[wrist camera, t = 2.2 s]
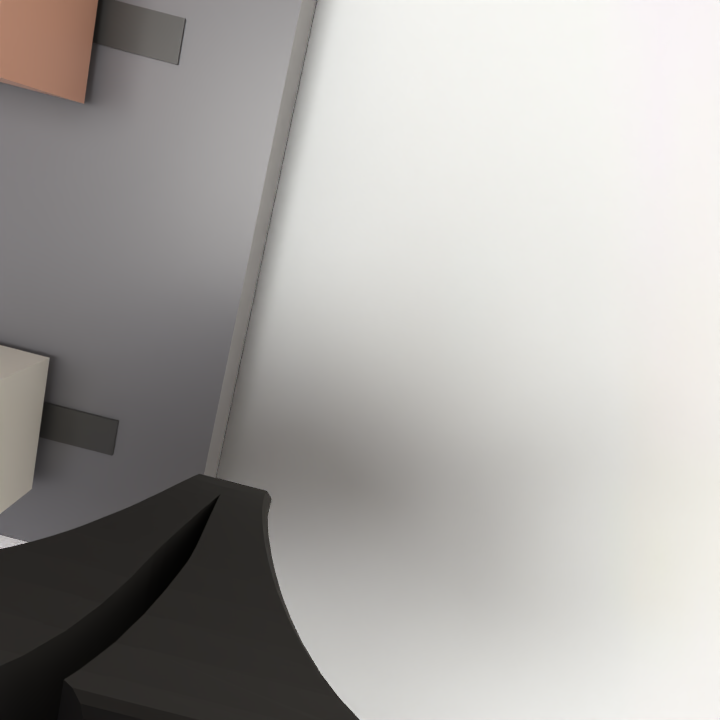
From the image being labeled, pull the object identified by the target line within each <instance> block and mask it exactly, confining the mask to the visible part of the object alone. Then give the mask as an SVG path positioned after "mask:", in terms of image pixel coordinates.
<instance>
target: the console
mask: <svg viewBox="0 0 720 720" xmlns="http://www.w3.org/2000/svg"><path fill="white" fill-rule="evenodd" d="M316 2H317V0H98V5H97V12H96V20H95V27H94V34H93V42H92V49H91V57H90V64H89V71H88V79H87V86H86V93H85V101H84V104H83V103H79V102H75V101H71V100H68V99H64V98H60V97H56V96H52V95H48V94H44V93H40V92H37V91H33V90H29V89H25V88H21V87H17V86H13V85H10V84H6V83H2V82H0V345H2V346H6V347H10V348H14V349H18V350H22V351H26V352H29V353H33V354H37V355H41V356H45V357H49V358H50V359H49V366H48V374H47V381H46V388H45V396H44V403H43V410H42V418H41V425H40V432H39V440H38V447H37V455H36V462H35V469H34V477H33V484H32V489H31V490H30V491H29V492H27V493H26V494H25V495H23V496H22V497H21V498H20V499H18V500H17V501H16V502H15V503H13V504H12V505H11V506H10V507H8V508H7V509H6V510H4V511H3V512H2V513H1V514H0V535H3V536H7V537H11V538H15V539H19V540H23V541H27V542H32V541H35V540H39V539H42V538H46V537H49V536H53V535H56V534H59V533H62V532H65V531H68V530H71V529H74V528H77V527H80V526H83V525H85V524H88V523H90V522H93V521H95V520H98V519H100V518H103V517H105V516H108V515H110V514H113V513H115V512H118V511H120V510H123V509H125V508H128V507H130V506H132V505H134V504H136V503H139V502H141V501H143V500H145V499H147V498H149V497H151V496H154V495H156V494H158V493H160V492H162V491H164V490H166V489H168V488H170V487H172V486H174V485H176V484H178V483H180V482H182V481H184V480H186V479H188V478H191V477H193V476H195V475H198V474H202V475H206V476H210V477H214V478H216V475H217V470H218V465H219V461H220V456H221V451H222V446H223V442H224V437H225V432H226V427H227V423H228V418H229V413H230V409H231V404H232V399H233V394H234V390H235V385H236V380H237V375H238V371H239V366H240V361H241V357H242V352H243V347H244V342H245V338H246V333H247V328H248V323H249V319H250V314H251V309H252V305H253V300H254V295H255V290H256V286H257V281H258V276H259V271H260V267H261V262H262V257H263V253H264V248H265V243H266V238H267V234H268V229H269V224H270V219H271V215H272V210H273V205H274V201H275V196H276V191H277V186H278V182H279V177H280V172H281V167H282V163H283V158H284V153H285V149H286V144H287V139H288V134H289V130H290V125H291V120H292V115H293V111H294V106H295V101H296V97H297V92H298V87H299V82H300V78H301V73H302V68H303V63H304V59H305V54H306V49H307V45H308V40H309V35H310V30H311V26H312V21H313V16H314V11H315V7H316Z"/></svg>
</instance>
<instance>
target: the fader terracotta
mask: <svg viewBox="0 0 720 720" xmlns="http://www.w3.org/2000/svg"><path fill="white" fill-rule="evenodd" d="M97 5H98V0H0V82H2V83H6V84H10V85H13V86H17V87H21V88H25V89H29V90H33V91H37V92H40V93H44V94H48V95H52V96H56V97H60V98H64V99H68V100H71V101H75V102H79V103H83V104H84V101H85V93H86V86H87V79H88V71H89V64H90V57H91V49H92V42H93V34H94V27H95V20H96V12H97Z"/></svg>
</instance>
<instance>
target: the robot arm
mask: <svg viewBox="0 0 720 720" xmlns="http://www.w3.org/2000/svg"><path fill="white" fill-rule="evenodd" d="M270 503H271V497H270V495H269V494H268V492H267V491H265V490H261V489H257V488H253V487H249V486H245V485H241V484H237V483H233V482H230V481H226V480H222V479H218V478H214V477H210V476H206V475H202V474H198V475H195V476H193V477H191V478H188V479H186V480H184V481H182V482H180V483H178V484H176V485H174V486H172V487H170V488H168V489H166V490H164V491H162V492H160V493H158V494H156V495H154V496H151V497H149V498H147V499H145V500H143V501H141V502H139V503H136V504H134V505H132V506H130V507H128V508H125V509H123V510H120V511H118V512H115V513H113V514H110V515H108V516H105V517H103V518H100V519H98V520H95V521H93V522H90V523H88V524H85V525H83V526H80V527H77V528H74V529H71V530H68V531H65V532H62V533H59V534H56V535H53V536H49V537H46V538H42V539H39V540H35V541H32V542H28V543H25V544H21V545H17V546H13V547H8V548H3V549H0V720H359V719H358V718H357V717H356V716H355V714H354V713H353V712H352V711H351V710H350V709H349V708H348V707H347V706H346V705H345V704H344V703H343V702H342V700H341V699H340V698H339V697H338V696H337V695H336V693H335V692H334V691H333V689H332V688H331V687H330V685H329V684H328V683H327V681H326V680H325V679H324V677H323V676H322V675H321V673H320V671H319V670H318V668H317V666H316V665H315V663H314V661H313V660H312V658H311V656H310V655H309V653H308V651H307V650H306V648H305V646H304V645H303V643H302V641H301V639H300V637H299V635H298V633H297V631H296V629H295V626H294V624H293V622H292V620H291V618H290V615H289V613H288V610H287V608H286V605H285V603H284V600H283V597H282V594H281V591H280V588H279V584H278V581H277V577H276V573H275V569H274V565H273V560H272V556H271V549H270V543H269V536H268V512H269V507H270Z"/></svg>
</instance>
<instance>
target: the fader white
mask: <svg viewBox="0 0 720 720" xmlns="http://www.w3.org/2000/svg"><path fill="white" fill-rule="evenodd" d="M49 359H50V358H49V357H45V356H41V355H37V354H33V353H29V352H26V351H22V350H18V349H14V348H10V347H6V346H2V345H0V514H1V513H2V512H3V511H4V510H6V509H7V508H8V507H10V506H11V505H12V504H13V503H15V502H16V501H17V500H18V499H20V498H21V497H22V496H23V495H25V494H26V493H27V492H29V491H30V490H31V489H32V484H33V477H34V469H35V462H36V455H37V447H38V440H39V432H40V425H41V418H42V410H43V403H44V396H45V388H46V381H47V374H48V366H49Z"/></svg>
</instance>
